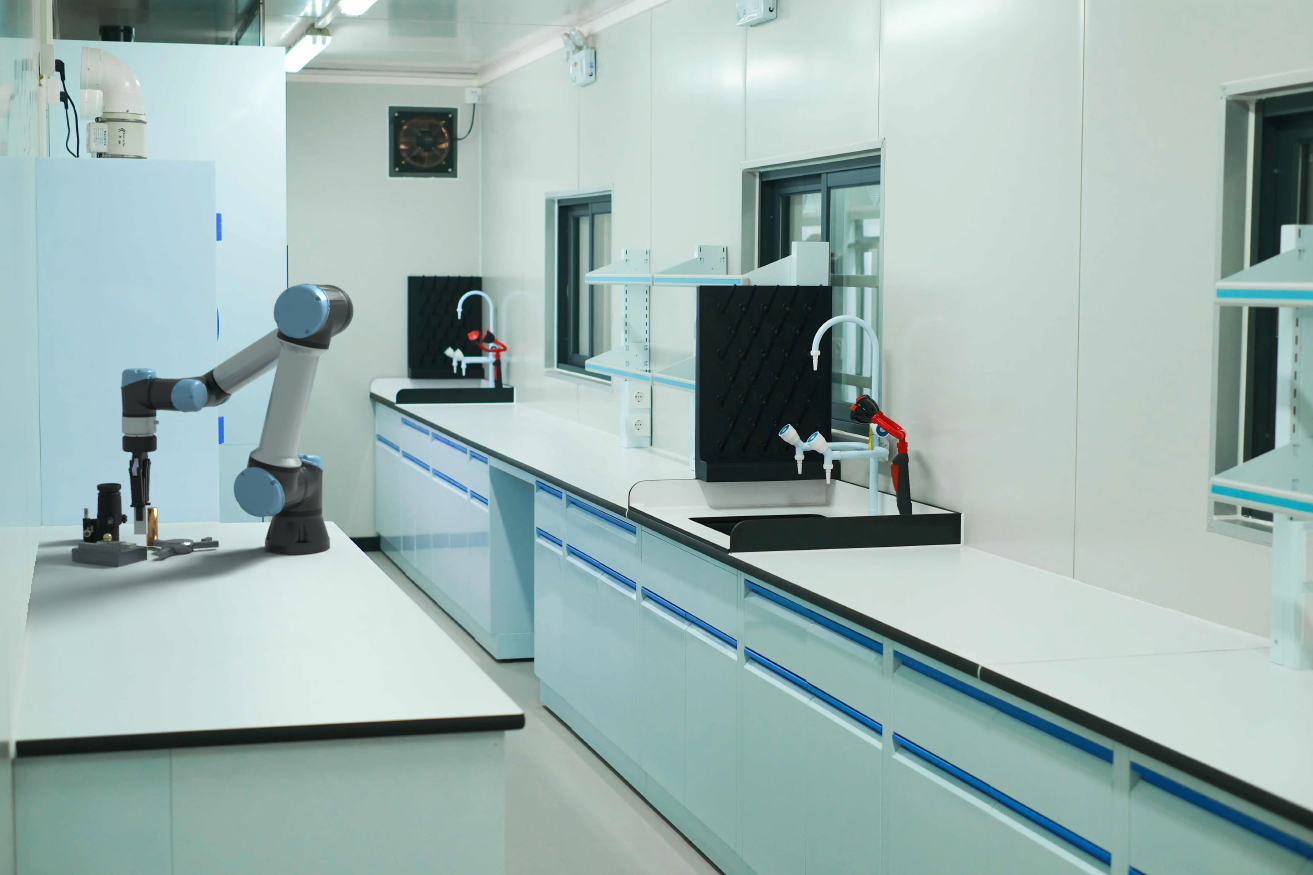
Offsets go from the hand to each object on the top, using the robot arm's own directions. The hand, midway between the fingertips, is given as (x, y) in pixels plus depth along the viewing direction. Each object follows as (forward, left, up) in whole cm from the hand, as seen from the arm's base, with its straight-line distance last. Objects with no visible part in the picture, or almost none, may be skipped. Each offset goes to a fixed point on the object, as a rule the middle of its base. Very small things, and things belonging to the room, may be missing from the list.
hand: (140, 533), depth 301 cm
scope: (+15, -5, -4) cm, 16 cm away
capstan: (-6, -2, -4) cm, 8 cm away
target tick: (-7, -14, -4) cm, 17 cm away
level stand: (-2, +12, -4) cm, 13 cm away
